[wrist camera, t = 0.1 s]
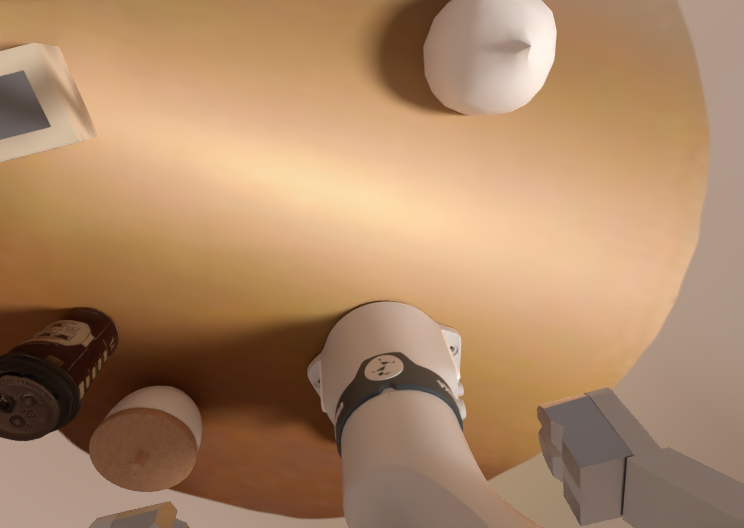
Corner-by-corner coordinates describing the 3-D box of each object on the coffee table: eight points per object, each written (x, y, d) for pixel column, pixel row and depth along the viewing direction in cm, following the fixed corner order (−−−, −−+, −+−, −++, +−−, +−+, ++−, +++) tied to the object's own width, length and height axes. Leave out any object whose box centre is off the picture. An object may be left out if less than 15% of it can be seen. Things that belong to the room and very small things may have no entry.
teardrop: (519, 123, 46) (579, 135, 35) (413, 108, 45) (441, 116, 34) (548, 0, 42) (627, -30, 31) (433, -21, 41) (473, -60, 30)
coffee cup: (31, 309, 49) (-66, 383, 37) (104, 285, 48) (30, 353, 36) (75, 372, 52) (-1, 460, 40) (143, 351, 52) (87, 432, 40)
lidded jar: (104, 418, 55) (62, 481, 46) (145, 354, 52) (108, 408, 43) (186, 453, 58) (161, 518, 49) (228, 394, 55) (210, 453, 46)
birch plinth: (101, 136, 43) (79, 141, 40) (20, 157, 43) (-9, 164, 40) (60, 46, 40) (33, 42, 37) (-27, 68, 40) (-63, 67, 37)
